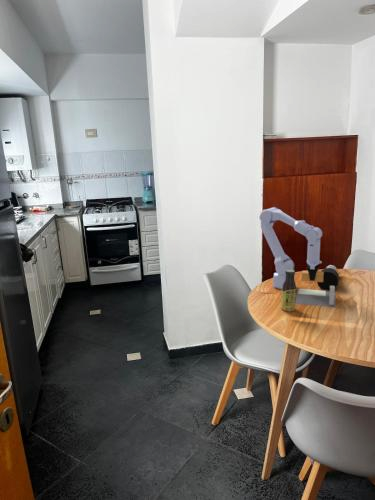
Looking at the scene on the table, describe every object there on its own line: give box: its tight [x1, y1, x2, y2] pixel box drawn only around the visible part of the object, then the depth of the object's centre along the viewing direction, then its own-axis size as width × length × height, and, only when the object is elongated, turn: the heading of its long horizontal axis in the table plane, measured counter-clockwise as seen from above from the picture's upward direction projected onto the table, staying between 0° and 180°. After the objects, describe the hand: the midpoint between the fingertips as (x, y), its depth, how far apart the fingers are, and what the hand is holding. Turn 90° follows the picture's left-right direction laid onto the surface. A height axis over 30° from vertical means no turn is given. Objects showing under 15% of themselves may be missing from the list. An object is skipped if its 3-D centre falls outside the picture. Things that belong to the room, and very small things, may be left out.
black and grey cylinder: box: [316, 264, 340, 291], centre depth 202 cm, size 10×34×10 cm, turn 156°
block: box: [301, 270, 324, 283], centre depth 182 cm, size 10×4×4 cm, turn 69°
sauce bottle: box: [280, 269, 297, 313], centre depth 165 cm, size 6×6×20 cm
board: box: [296, 288, 337, 308], centre depth 179 cm, size 18×20×2 cm
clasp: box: [329, 286, 336, 305], centre depth 171 cm, size 2×9×7 cm, turn 159°
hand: (312, 278), depth 183 cm, fingers closed on block, 4 cm apart
